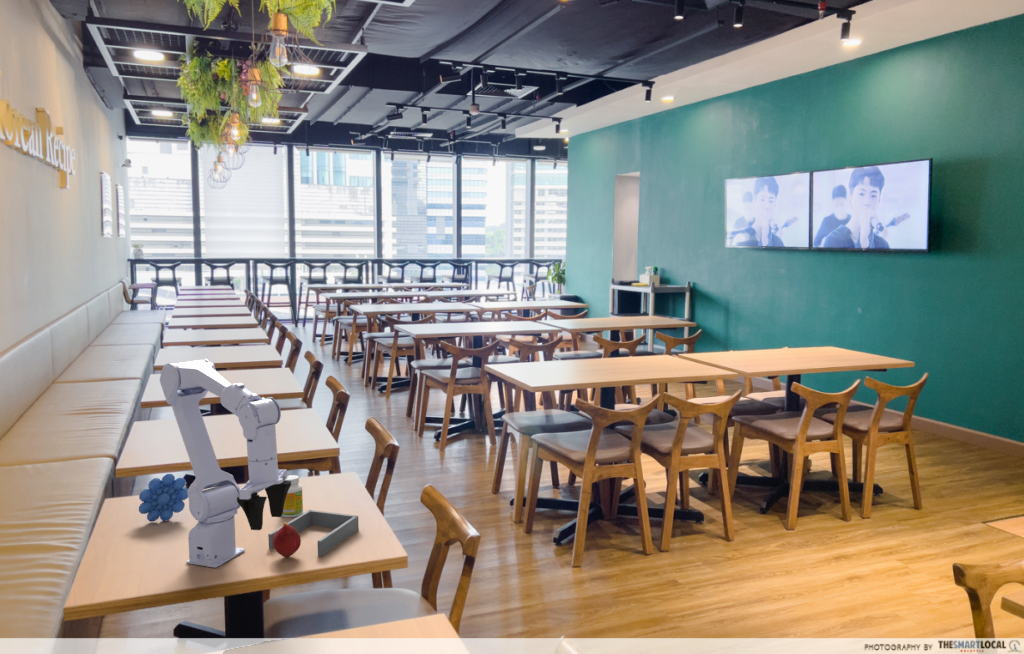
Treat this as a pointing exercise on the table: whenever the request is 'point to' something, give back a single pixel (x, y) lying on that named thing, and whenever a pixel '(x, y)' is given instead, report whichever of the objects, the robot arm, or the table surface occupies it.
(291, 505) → the supplement bottle
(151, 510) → the blue flower
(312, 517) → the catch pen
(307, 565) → the table surface
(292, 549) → the onion
